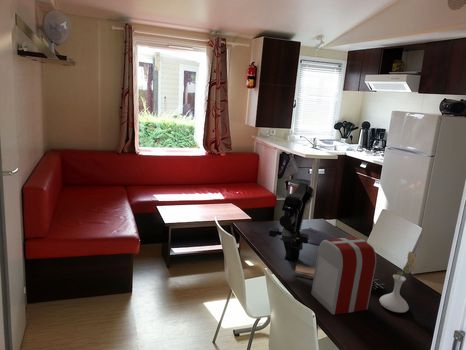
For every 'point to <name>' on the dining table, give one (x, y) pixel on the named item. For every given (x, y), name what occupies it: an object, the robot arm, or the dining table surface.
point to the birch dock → (304, 273)
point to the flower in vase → (394, 298)
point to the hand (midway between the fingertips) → (286, 251)
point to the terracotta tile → (305, 270)
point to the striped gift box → (344, 274)
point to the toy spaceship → (316, 236)
